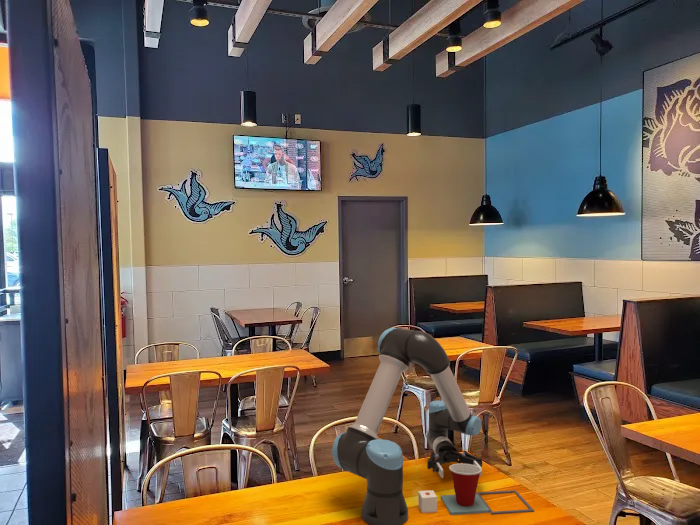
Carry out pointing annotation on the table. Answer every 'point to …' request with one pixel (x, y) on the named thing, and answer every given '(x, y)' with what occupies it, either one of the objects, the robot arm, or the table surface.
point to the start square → (506, 511)
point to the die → (427, 501)
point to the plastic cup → (465, 482)
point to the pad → (458, 509)
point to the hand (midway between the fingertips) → (461, 473)
